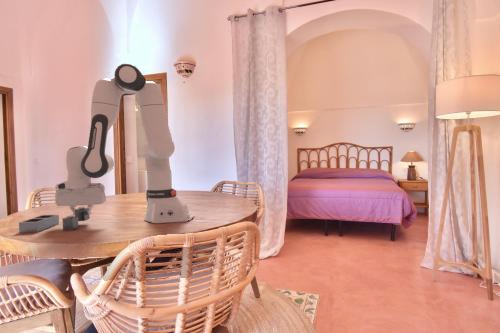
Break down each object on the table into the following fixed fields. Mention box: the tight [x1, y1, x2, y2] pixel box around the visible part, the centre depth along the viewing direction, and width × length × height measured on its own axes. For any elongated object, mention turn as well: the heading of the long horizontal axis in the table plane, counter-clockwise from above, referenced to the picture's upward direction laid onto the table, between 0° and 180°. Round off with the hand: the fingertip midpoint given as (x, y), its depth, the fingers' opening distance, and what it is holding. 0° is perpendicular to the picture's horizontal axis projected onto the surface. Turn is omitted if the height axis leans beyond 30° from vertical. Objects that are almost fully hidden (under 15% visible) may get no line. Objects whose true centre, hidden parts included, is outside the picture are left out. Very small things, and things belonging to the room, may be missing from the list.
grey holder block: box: [18, 214, 60, 234], centre depth 122 cm, size 14×7×4 cm, turn 2°
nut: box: [75, 206, 90, 222], centre depth 127 cm, size 4×4×6 cm
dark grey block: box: [61, 215, 79, 232], centre depth 119 cm, size 4×4×6 cm
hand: (82, 215), depth 127 cm, fingers closed on nut, 4 cm apart
